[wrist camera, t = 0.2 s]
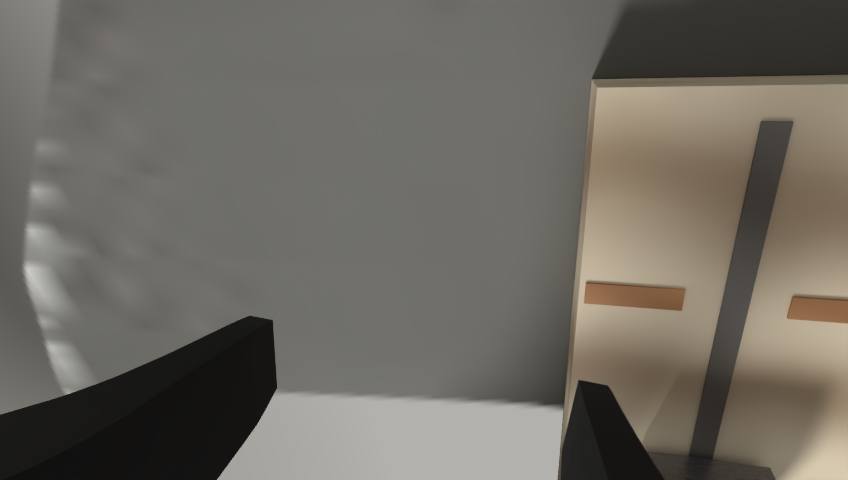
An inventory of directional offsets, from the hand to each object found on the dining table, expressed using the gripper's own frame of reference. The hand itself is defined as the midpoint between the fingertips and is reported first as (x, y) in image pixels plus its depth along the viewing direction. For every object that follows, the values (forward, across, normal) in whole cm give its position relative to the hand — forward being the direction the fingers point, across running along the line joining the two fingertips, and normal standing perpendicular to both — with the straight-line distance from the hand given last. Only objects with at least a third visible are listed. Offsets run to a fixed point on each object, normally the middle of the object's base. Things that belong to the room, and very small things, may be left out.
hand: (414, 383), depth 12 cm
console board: (+10, -10, +4) cm, 14 cm away
